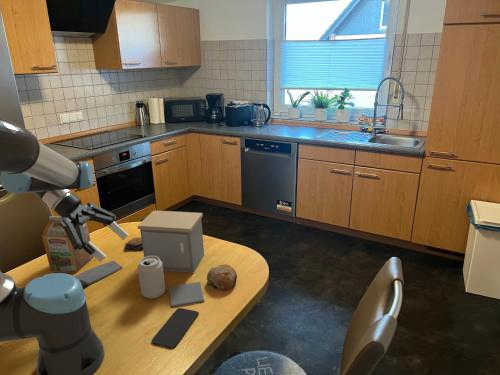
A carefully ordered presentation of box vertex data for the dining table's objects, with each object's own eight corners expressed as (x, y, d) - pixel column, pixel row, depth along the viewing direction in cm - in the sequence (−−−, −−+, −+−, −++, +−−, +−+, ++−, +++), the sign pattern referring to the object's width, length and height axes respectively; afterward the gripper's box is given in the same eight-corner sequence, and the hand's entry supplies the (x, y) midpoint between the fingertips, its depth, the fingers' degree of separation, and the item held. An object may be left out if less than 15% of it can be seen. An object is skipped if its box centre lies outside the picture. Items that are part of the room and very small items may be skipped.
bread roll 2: (122, 254, 145) (121, 245, 143) (125, 243, 153) (124, 235, 151) (150, 250, 146) (149, 242, 145) (152, 240, 154) (151, 232, 153)
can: (137, 292, 120) (132, 260, 116) (158, 283, 124) (154, 251, 120) (149, 303, 114) (144, 269, 110) (170, 292, 119) (166, 260, 115)
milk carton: (93, 257, 142) (84, 211, 135) (77, 272, 132) (66, 224, 125) (68, 255, 144) (58, 210, 137) (50, 270, 134) (38, 222, 127)
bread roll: (205, 293, 125) (198, 280, 119) (218, 267, 131) (212, 254, 126) (231, 300, 120) (225, 287, 115) (243, 274, 127) (238, 260, 121)
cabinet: (193, 275, 128) (189, 230, 122) (142, 270, 132) (136, 226, 126) (205, 254, 141) (202, 213, 135) (158, 251, 145) (153, 210, 139)
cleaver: (43, 311, 113) (41, 305, 112) (28, 299, 119) (27, 294, 118) (126, 268, 135) (125, 263, 134) (110, 260, 141) (109, 255, 140)
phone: (200, 311, 109) (174, 347, 96) (200, 314, 110) (174, 350, 96) (178, 307, 112) (149, 341, 98) (178, 309, 112) (149, 344, 99)
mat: (204, 301, 114) (204, 299, 114) (171, 307, 112) (170, 305, 112) (200, 283, 124) (200, 281, 123) (169, 288, 121) (169, 286, 121)
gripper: (81, 194, 127) (128, 236, 129) (27, 226, 104) (85, 276, 106) (92, 179, 124) (140, 223, 126) (39, 209, 101) (99, 262, 103)
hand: (115, 247), depth 116 cm, fingers open, 13 cm apart
